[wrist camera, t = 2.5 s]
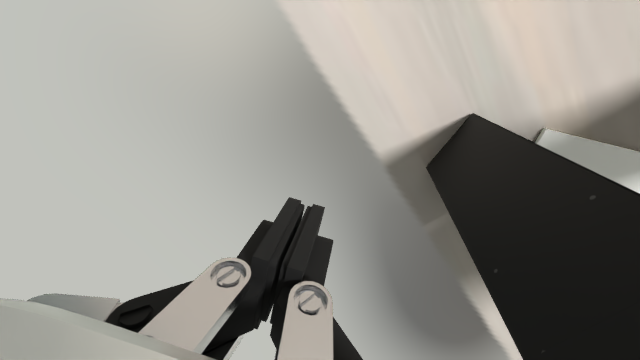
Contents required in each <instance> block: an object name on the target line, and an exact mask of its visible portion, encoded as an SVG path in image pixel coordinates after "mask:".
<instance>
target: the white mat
mask: <svg viewBox="0 0 640 360" xmlns="http://www.w3.org/2000/svg"><path fill="white" fill-rule="evenodd" d="M535 143H536V144H538V145H540V146H542V147H544V148H546V149H548V150H550V151H553V152H555V153H557V154H559V155H561V156H563V157H565V158H567V159H569V160H571V161H573V162H575V163H577V164H579V165H582V166H584V167H586V168H588V169H590V170H592V171H594V172H596V173H598V174H600V175H602V176H604V177H606V178H608V179H611V180H613V181H615V182H617V183H619V184H621V185H623V186H625V187H627V188H629V189H631V190H633V191H635V192H638V193H640V152H639V151H635V150H631V149H627V148H623V147H619V146H615V145H611V144H607V143H603V142H599V141H595V140H591V139H586V138H582V137H578V136H574V135H570V134H566V133H562V132H558V131H554V130H550V129H546V128H543V130H542V132H541V133H540V135H539V136H538V138H537V140H536V141H535Z"/></svg>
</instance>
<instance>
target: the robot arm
mask: <svg viewBox="0 0 640 360" xmlns="http://www.w3.org/2000/svg"><path fill="white" fill-rule="evenodd" d="M324 208H325V207H322V206H318V205H315V204H313V206H312V207H310V206H308V207H307V209H306V211H305V213H304V216H303V218H302V215H303V211H304V205H303V204H301V201H300V200H297V199H293V198H288V200H287V202H286V203H285V205H284V206H283V208H282V210H281V211H280V213H279V214H278V216H277V218H276V219H275V221H274V222H270V221H266V220H263V221H262V222H261V224H260V225H259V226H258V228H257V229H256V231H255V232H254V234H253V235H252V236H251V238H250V239H249V241H248V242H247V244H246V245H245V246H244V248H243V249H242V251H241V252H240V254H239V255H238V256H237V258H223V259H220V260H218V261H216V262H214V263H213V264H212V265H210V266H209V267H208V268H207V269H206V270H205V271H204V272H203V273H202V274H201V275H199V276H198V277H197V278H196V279H195V280H194V281H190V282H187V283H184V284H180V285H177V286H174V287H170V288H167V289H164V290H161V291H157V292H154V293H150V294H147V295H144V296H140V297H137V298H134V299H131V300H129V301H127V302H125V303H120V300H119V299H113V298H102V297H90V296H78V295H66V294H65V295H64V294H44V295H41V296H37V297H34V298H31V299H29V300H27V301H24V300H14V299H0V360H229V359H230V357H231V356H232V354H233V352H234V351H235V349H236V348H237V346H238V345H239V343H240V341H241V339H242V337H243V334H245V333H247V332H249V331H252V330H253V329H254V328H255V329H258V327H259V325H260V322H261V320H262V321H265V322H266V321H267V319H268V316H269V314H270V311H271V309H272V306H273V310H272V315H271V320H270V323H271V324H272V329H271V334H270V336H271V338H272V341H273V343H274V345H275V347H276V349H277V350H276V355H275V360H363V359H362V358H361V356H360V355H359V353H358V352H357V350H356V349H355V348H354V346H353V345H352V343H351V342H350V341H349V339H348V338H347V336H346V335H345V333H344V332H343V330H342V329H341V327H340V326H339V325H338V323H337V322H336V320H335V319H334V317H333V303H332V297H331V295H330V293H329V292H328V290H327V289H326V288H325V287H324V282H325V278H326V272H327V268H328V264H329V259H330V254H331V250H332V245H333V240H331V239H328V238H324V237H321V236H318V232H319V227H320V224H321V220H322V216H323V213H324ZM273 304H274V305H273Z"/></svg>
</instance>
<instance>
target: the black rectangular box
mask: <svg viewBox="0 0 640 360" xmlns="http://www.w3.org/2000/svg"><path fill="white" fill-rule="evenodd" d="M426 168H427V170H428V172H429V174H430V176H431V178H432V180H433V182H434V184H435V186H436V188H437V190H438V192H439V194H440V196H441V198H442V200H443V202H444V204H445V206H446V208H447V210H448V212H449V214H450V216H451V218H452V220H453V222H454V224H455V225H456V227H457V229H458V231H459V233H460V235H461V237H462V239H463V241H464V243H465V245H466V247H467V249H468V251H469V253H470V255H471V257H472V259H473V261H474V263H475V265H476V267H477V269H478V271H479V273H480V275H481V277H482V279H483V281H484V283H485V285H486V287H487V289H488V291H489V293H490V295H491V297H492V299H493V301H494V303H495V305H496V307H497V309H498V311H499V313H500V315H501V317H502V319H503V321H504V323H505V325H506V327H507V329H508V330H509V332H510V334H511V336H512V338H513V340H514V342H515V344H516V346H517V348H518V350H519V352H520V354H521V356H522V358H523V360H640V193H638V192H635V191H633V190H631V189H629V188H627V187H625V186H623V185H621V184H619V183H617V182H615V181H613V180H611V179H608V178H606V177H604V176H602V175H600V174H598V173H596V172H594V171H592V170H590V169H588V168H586V167H584V166H582V165H579V164H577V163H575V162H573V161H571V160H569V159H567V158H565V157H563V156H561V155H559V154H557V153H555V152H553V151H550V150H548V149H546V148H544V147H542V146H540V145H538V144H536V143H534V142H532V141H530V140H528V139H526V138H523V137H521V136H519V135H517V134H515V133H513V132H511V131H509V130H507V129H505V128H503V127H501V126H499V125H497V124H494V123H492V122H490V121H488V120H486V119H484V118H482V117H480V116H478V115H476V114H474V113H473V114H471V115H470V117H469V118H468V119H467V120H466V121H465V122H464V124H463V125H462V126H461V127H460V128H459V129H458V131H457V132H456V133H455V134H454V135H453V136H452V138H451V139H450V140H449V141H448V142H447V144H446V145H445V146H444V147H443V148H442V149H441V151H440V152H439V153H438V154H437V155H436V156H435V158H434V159H433V160H432V161H431V162H430V164H429V165H428V166H427V167H426Z"/></svg>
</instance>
